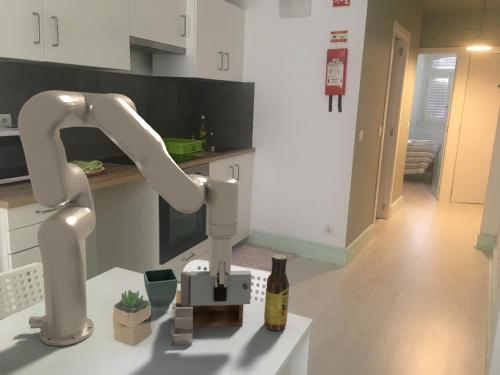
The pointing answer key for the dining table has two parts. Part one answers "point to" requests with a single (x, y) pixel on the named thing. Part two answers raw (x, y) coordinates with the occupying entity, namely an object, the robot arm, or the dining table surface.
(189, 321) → the hinge clips
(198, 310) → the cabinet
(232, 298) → the door
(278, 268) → the sauce bottle
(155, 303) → the flower pot
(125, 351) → the dining table surface
